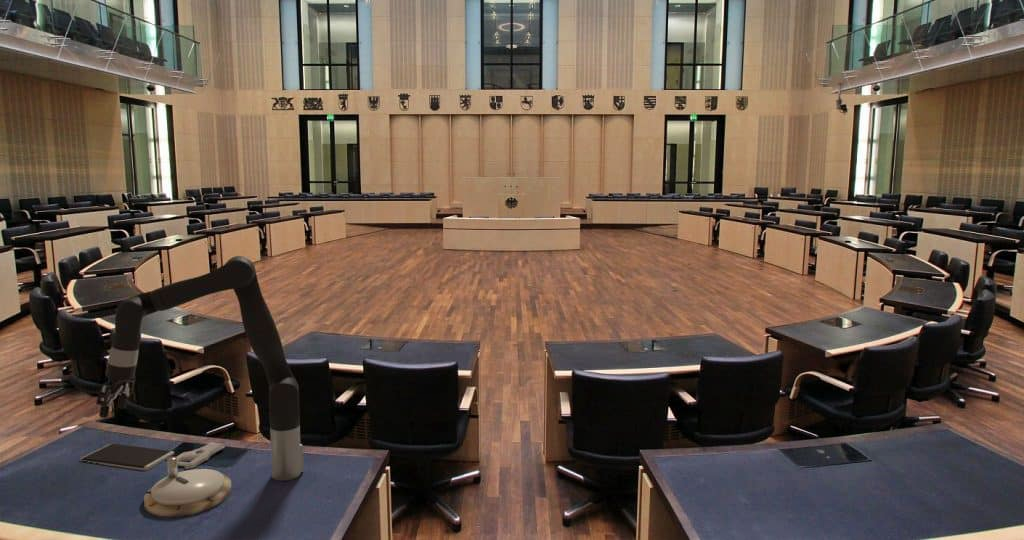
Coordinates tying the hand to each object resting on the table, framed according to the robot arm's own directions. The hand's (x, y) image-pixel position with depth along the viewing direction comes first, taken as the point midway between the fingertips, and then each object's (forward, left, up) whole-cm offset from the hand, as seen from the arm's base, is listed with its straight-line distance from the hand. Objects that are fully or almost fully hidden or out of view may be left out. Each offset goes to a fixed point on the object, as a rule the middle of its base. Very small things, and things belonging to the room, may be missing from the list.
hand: (112, 412), depth 190 cm
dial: (-12, +19, -24) cm, 33 cm away
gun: (-28, -3, -27) cm, 39 cm away
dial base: (-12, +19, -26) cm, 34 cm away
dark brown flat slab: (-15, -23, -27) cm, 39 cm away
